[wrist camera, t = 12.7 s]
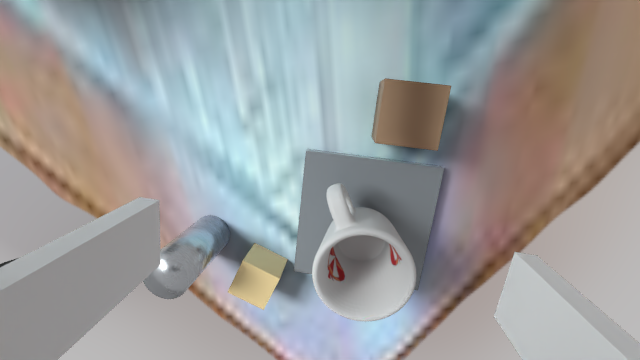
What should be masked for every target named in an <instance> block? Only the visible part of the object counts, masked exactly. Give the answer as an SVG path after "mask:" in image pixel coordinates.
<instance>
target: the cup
mask: <svg viewBox="0 0 640 360" xmlns="http://www.w3.org/2000/svg"><path fill="white" fill-rule="evenodd" d="M327 202H328V206H329V209H330V212H331V215H332V218H333V221H332V223H331V224H330V226H329V228H328V230H327V232H326V234H325V236H324V239H323V241H322V243H321V245H320V247H319V249H318V251H317V254H316V256H315V259H314V262H313V268H312V278H313V283H314V287H315V290H316V292H317V294H318V296H319V297H320V299H321V300H322V301H323V303H324V304H325V305H326V306H327V307H328V308H330V309H331V310H332V311H334V312H335V313H337V314H339V315H340V316H343V317H345V318H348V319H351V320H356V321H375V320H380V319H383V318H386V317H388V316H391V315H392V314H394V313H396V312H397V311H399V310H400V309H401V308H402V307H403V306H404V305H405V304H406V303H407V302H408V300H409V299H410V297H411V295H412V293H413V291H414V288H415V284H416V267H415V263H414V260H413V257H412V255H411V253H410V251H409V250H408V248H407V247H406V245H405V243H404V242H403V240H402V239H401V237H400V236H399V234H398V232H397V231H396V229H395V228H394V226H393V225H392V223H391V222H390V221H389V220H388V219H387V218H386V217H385V216H384V215H383V214H381V213H380V212H378V211H376V210H373V209H370V208H364V207H357V208H354V207H353V205H352V202H351V200H350V197H349V195H348V192H347V190H346V188H345V186H344V185H343V184H341V183H337V184H334V185H332V186H330V187H329V188H328V189H327Z"/></svg>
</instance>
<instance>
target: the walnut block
mask: <svg viewBox="0 0 640 360" xmlns="http://www.w3.org/2000/svg"><path fill="white" fill-rule="evenodd" d="M450 89H451V86H449V85H440V84H431V83H421V82H412V81H403V80H394V79H384V80H382V81H381V82H380V83H379V90H378V97H377V103H376V110H375V116H374V123H373V130H372V138H373V140H374V142H375V143H379V144H387V145H396V146H404V147H412V148H420V149H428V150H436V151H438V147H439V143H440V138H441V133H442V128H443V123H444V118H445V114H446V109H447V104H448V99H449V94H450Z"/></svg>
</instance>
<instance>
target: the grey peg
mask: <svg viewBox="0 0 640 360" xmlns="http://www.w3.org/2000/svg"><path fill="white" fill-rule="evenodd" d="M229 238H230V232H229V228H228V226H227V225H226V223H225V222H224V221H223V220H221V219H220V218H218V217H215V216H205V217H202V218H201V219H199V220H198V221H197V222H195V223H194V224H193V225H191V226H190V227H189V228H188V229H186V230H185V231H184V232H182V233H181V234H180V235H179V236H177V237H176V238H175V239H173V240H172V241H171V242H170V243H168V244H167V245H166V246H164V247H163V248H162V249H161V250H160V259H161V265H160V266H159V267H158V268H157V269H155V270H154V271H153V272H152V273H151V274H150V275H149V276H148V277H147V278H146V279H145V280H144V281H143V282H144V284H145V286H146V287H147V288H148V290H149V291H151V292H152V293H153V294H154V295H156V296H158V297H161V298H164V299H174V298H177V297H180V296H181V295H182V294H183V293H184V292H185V291H186V290H187V289H188V288H189V287H190V286H191V284H192V283H193V282H194V281H195V280H196V279H197V277H198V276H199V275H200V274H201V273H202V272H203V271H204V269H205V268H206V267H207V266H208V265H209V264H210V263H211V261H212V260H213V259H214V258H215V257H216V256H217V255H218V253H219V252H220V251H221V250H222V249H223V248H224V247H225V245H226V244H227V243H228V241H229Z"/></svg>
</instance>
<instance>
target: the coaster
mask: <svg viewBox="0 0 640 360" xmlns="http://www.w3.org/2000/svg"><path fill="white" fill-rule="evenodd" d="M443 172H444V168H443V167H442V166H437V165H429V164H421V163H414V162H406V161H398V160H390V159H382V158H374V157H366V156H359V155H351V154H343V153H335V152H327V151H319V150H311V149H307V150H306V157H305V167H304V177H303V186H302V196H301V206H300V216H299V226H298V236H297V246H296V255H295V265H294V271H295V272H302V273H308V274H312V268H313V262H314V259H315V256H316V254H317V251H318V249H319V247H320V245H321V243H322V241H323V239H324V236H325V234H326V232H327V230H328V228H329V226H330V224H331V223H332V221H333V218H332V215H331V212H330V209H329V206H328V202H327V189H328V188H329V187H330V186H332V185H334V184H337V183H341V184H343V185H344V186H345V188H346V190H347V192H348V195H349V197H350V200H351V202H352V205H353V207H354V208H357V207H364V208H370V209H373V210H376V211H378V212H380V213H381V214H383V215H384V216H385V217H386V218H387V219H388V220H389V221H390V222H391V223H392V225H393V226H394V228H395V229H396V231H397V232H398V234H399V236H400V237H401V239H402V240H403V242H404V243H405V245H406V247H407V248H408V250H409V251H410V253H411V255H412V257H413V260H414V263H415V267H416V284H415V288H414V290H418V287H419V282H420V277H421V273H422V268H423V264H424V259H425V254H426V250H427V245H428V241H429V236H430V231H431V227H432V222H433V218H434V213H435V208H436V204H437V199H438V195H439V190H440V185H441V181H442V176H443Z"/></svg>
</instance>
